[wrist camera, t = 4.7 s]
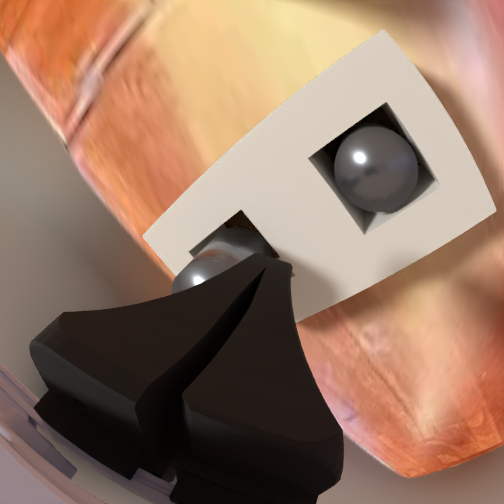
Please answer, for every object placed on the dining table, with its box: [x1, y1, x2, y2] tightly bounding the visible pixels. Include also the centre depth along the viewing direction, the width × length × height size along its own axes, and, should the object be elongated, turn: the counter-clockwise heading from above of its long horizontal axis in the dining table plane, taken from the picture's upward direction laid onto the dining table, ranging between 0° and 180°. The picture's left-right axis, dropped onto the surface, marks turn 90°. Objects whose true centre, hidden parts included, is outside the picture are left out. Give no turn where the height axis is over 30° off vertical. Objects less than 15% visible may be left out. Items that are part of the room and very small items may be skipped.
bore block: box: [142, 29, 497, 323], centre depth 17 cm, size 10×18×5 cm, turn 132°
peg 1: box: [172, 227, 275, 294], centre depth 16 cm, size 4×4×4 cm
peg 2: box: [334, 122, 418, 212], centre depth 15 cm, size 4×4×4 cm
